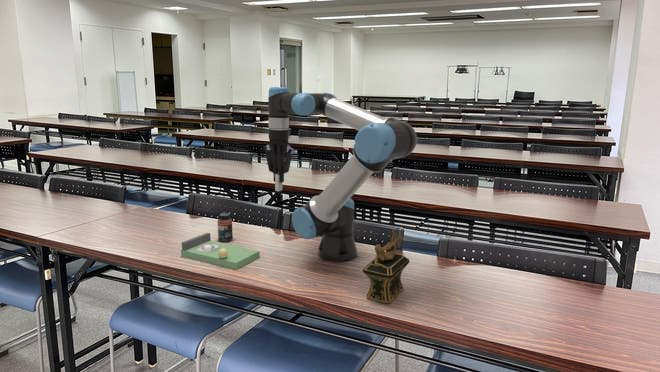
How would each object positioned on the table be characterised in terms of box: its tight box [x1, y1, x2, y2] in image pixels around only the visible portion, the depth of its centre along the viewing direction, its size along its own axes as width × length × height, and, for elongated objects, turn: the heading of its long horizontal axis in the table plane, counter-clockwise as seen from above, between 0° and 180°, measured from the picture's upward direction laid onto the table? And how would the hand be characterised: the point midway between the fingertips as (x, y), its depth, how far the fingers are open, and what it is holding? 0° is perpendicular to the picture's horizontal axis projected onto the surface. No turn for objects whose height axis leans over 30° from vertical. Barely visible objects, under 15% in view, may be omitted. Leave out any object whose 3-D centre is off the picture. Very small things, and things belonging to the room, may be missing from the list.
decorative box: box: [362, 228, 410, 304], centre depth 148 cm, size 20×10×20 cm, turn 151°
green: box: [180, 232, 261, 271], centre depth 176 cm, size 26×14×6 cm, turn 63°
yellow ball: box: [218, 248, 228, 258], centre depth 168 cm, size 4×4×4 cm
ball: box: [203, 245, 213, 250], centre depth 179 cm, size 4×4×4 cm
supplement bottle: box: [217, 212, 234, 243], centre depth 194 cm, size 6×6×11 cm
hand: (278, 190), depth 179 cm, fingers closed
